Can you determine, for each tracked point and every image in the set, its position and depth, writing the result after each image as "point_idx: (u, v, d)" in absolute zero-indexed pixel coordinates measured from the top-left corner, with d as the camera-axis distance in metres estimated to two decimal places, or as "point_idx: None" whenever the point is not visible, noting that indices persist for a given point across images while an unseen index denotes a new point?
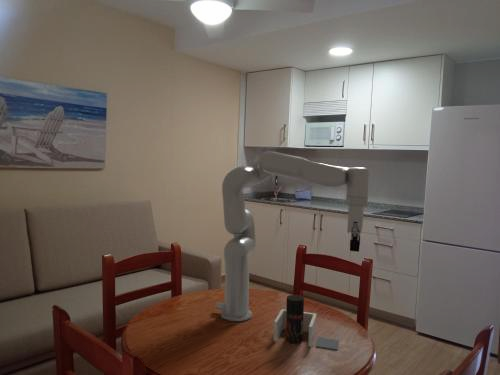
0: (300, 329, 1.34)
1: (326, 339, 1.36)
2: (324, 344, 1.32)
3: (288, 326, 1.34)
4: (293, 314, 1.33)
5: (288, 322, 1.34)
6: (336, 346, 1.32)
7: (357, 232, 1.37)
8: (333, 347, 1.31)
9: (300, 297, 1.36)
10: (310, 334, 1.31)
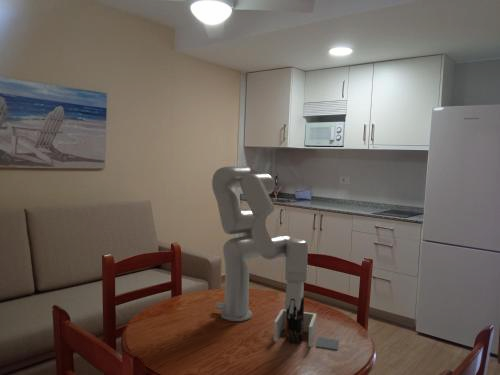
0: (300, 329, 1.34)
1: (326, 339, 1.36)
2: (324, 344, 1.32)
3: None
4: None
5: None
6: (336, 346, 1.32)
7: (295, 311, 1.32)
8: (333, 347, 1.31)
9: None
10: (310, 334, 1.31)
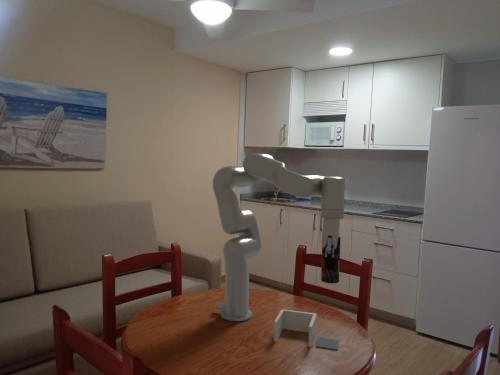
0: (337, 268, 1.29)
1: (326, 339, 1.36)
2: (324, 344, 1.32)
3: None
4: None
5: (324, 261, 1.30)
6: (336, 346, 1.32)
7: (332, 249, 1.28)
8: (333, 347, 1.31)
9: None
10: (310, 334, 1.31)
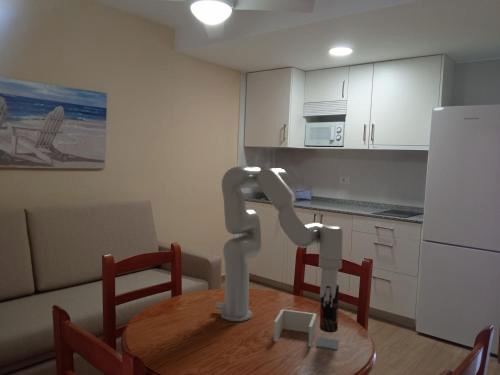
0: (335, 317, 1.31)
1: (326, 339, 1.36)
2: (324, 344, 1.32)
3: None
4: None
5: None
6: (336, 346, 1.32)
7: (330, 298, 1.29)
8: (333, 347, 1.31)
9: None
10: (310, 334, 1.31)
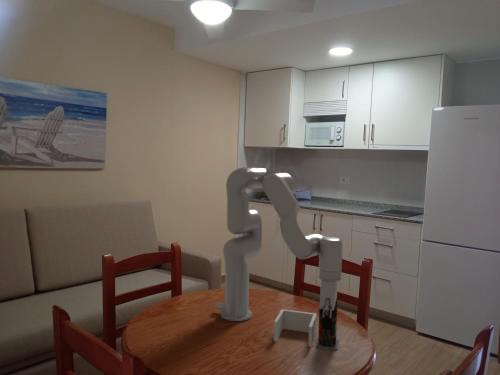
0: (333, 331, 1.31)
1: None
2: None
3: (321, 329, 1.32)
4: None
5: (321, 325, 1.32)
6: (336, 346, 1.32)
7: (329, 309, 1.28)
8: (333, 347, 1.31)
9: None
10: (310, 334, 1.31)
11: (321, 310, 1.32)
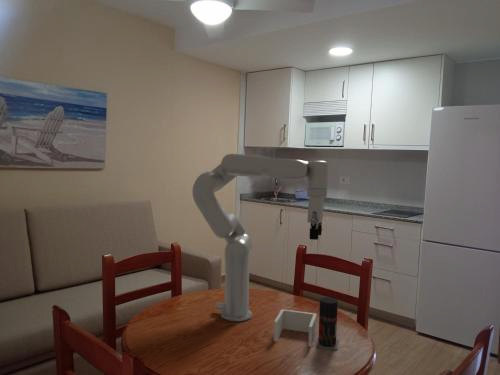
0: (334, 332, 1.31)
1: None
2: None
3: (322, 329, 1.32)
4: (327, 317, 1.30)
5: (322, 325, 1.32)
6: (336, 346, 1.32)
7: (316, 221, 1.46)
8: (333, 347, 1.31)
9: (333, 299, 1.34)
10: (310, 334, 1.31)
11: (321, 310, 1.32)
